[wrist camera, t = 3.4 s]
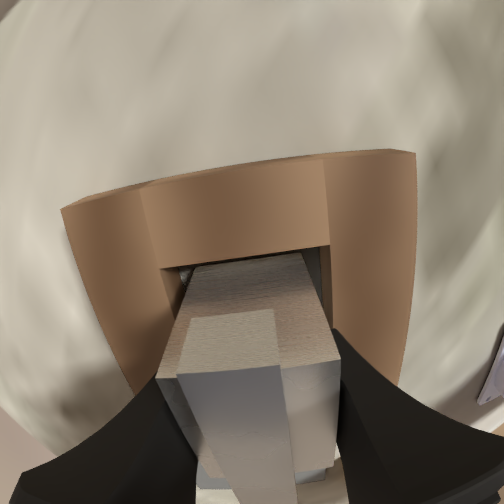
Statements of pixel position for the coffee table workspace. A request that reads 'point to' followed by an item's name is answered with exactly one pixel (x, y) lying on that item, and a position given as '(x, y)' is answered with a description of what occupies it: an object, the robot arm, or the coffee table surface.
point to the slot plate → (254, 246)
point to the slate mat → (222, 483)
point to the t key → (254, 376)
